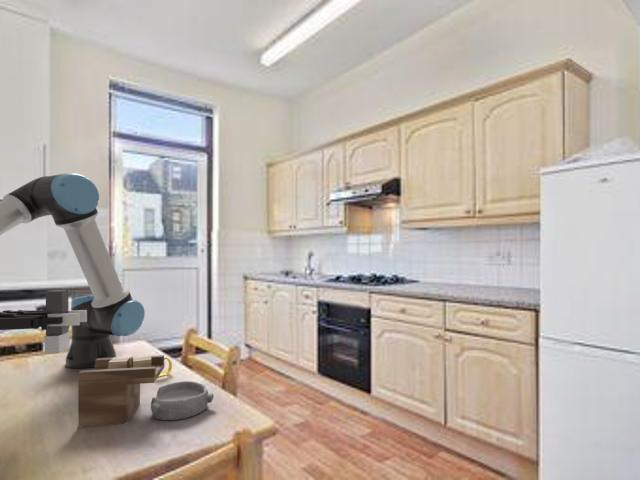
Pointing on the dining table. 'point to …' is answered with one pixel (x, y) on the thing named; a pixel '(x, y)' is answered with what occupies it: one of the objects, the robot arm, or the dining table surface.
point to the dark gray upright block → (56, 335)
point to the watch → (168, 368)
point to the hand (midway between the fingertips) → (82, 317)
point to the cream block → (142, 361)
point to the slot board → (113, 391)
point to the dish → (180, 400)
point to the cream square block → (119, 363)
